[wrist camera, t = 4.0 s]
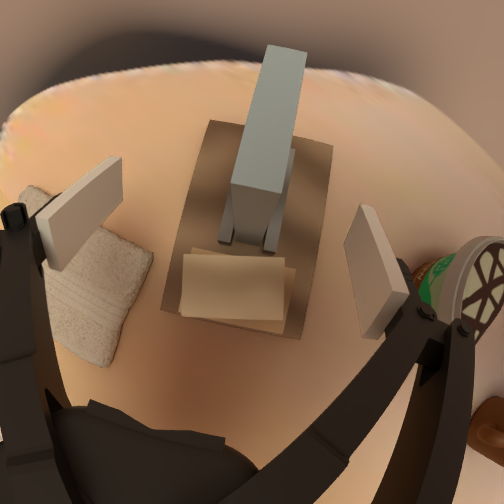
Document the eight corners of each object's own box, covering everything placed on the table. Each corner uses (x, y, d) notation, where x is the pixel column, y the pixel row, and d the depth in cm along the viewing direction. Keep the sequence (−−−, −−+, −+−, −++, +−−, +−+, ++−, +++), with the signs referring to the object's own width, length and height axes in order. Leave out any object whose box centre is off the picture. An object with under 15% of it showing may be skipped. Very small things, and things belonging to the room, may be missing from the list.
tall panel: (259, 246, 25) (281, 193, 11) (235, 241, 25) (230, 182, 11) (276, 160, 26) (307, 52, 12) (255, 155, 26) (267, 44, 12)
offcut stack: (278, 330, 24) (287, 339, 20) (183, 309, 24) (170, 314, 20) (291, 267, 25) (303, 261, 20) (197, 247, 25) (187, 236, 20)
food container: (437, 225, 27) (500, 200, 17) (466, 267, 27) (531, 257, 17) (365, 309, 26) (426, 317, 16) (401, 353, 26) (464, 374, 16)
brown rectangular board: (298, 338, 25) (305, 343, 22) (163, 309, 25) (153, 311, 22) (330, 150, 28) (339, 136, 25) (210, 124, 28) (208, 108, 25)
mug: (433, 444, 24) (480, 476, 15) (462, 386, 25) (517, 406, 16) (485, 447, 24) (526, 469, 15) (508, 398, 25) (554, 412, 16)
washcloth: (35, 186, 27) (20, 177, 24) (162, 253, 26) (152, 249, 23) (-2, 280, 25) (-19, 279, 22) (114, 366, 25) (100, 374, 22)
